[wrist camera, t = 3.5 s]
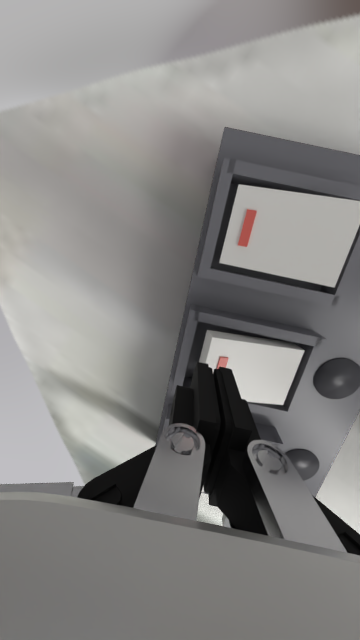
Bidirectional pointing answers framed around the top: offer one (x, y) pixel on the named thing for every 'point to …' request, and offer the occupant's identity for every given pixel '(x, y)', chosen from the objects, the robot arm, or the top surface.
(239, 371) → the middle rocker
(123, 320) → the top surface
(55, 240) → the top surface
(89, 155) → the top surface
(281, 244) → the rocker
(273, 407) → the rocker switch panel
